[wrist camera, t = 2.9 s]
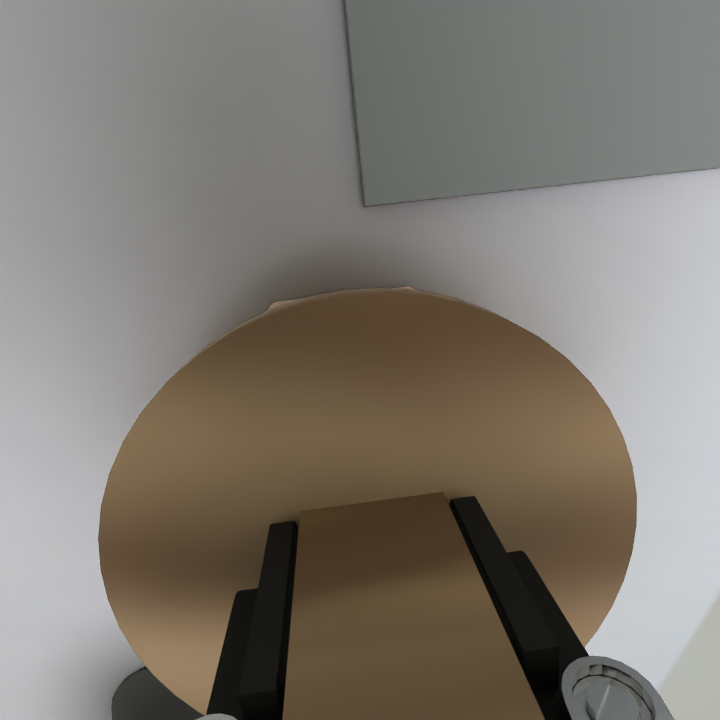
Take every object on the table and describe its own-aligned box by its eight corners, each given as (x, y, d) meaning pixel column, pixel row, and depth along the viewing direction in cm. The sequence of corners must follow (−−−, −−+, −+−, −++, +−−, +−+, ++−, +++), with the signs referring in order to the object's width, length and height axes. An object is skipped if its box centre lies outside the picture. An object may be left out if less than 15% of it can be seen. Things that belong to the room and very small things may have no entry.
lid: (51, 324, 9) (-368, 470, 4) (625, 256, 10) (1033, 296, 4) (180, 745, 13) (67, 1152, 7) (600, 679, 14) (803, 1013, 8)
